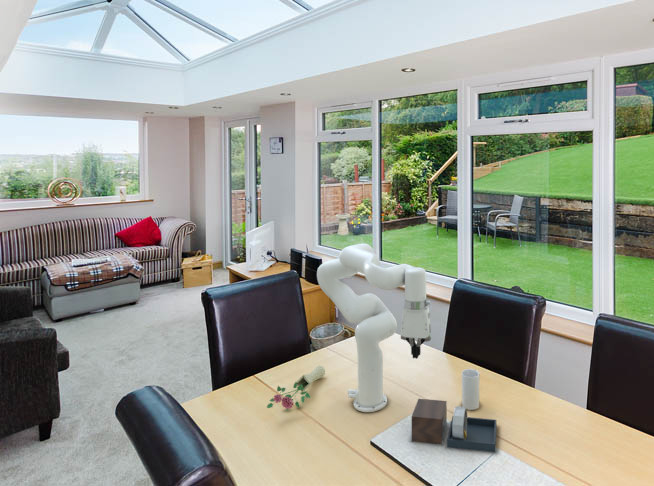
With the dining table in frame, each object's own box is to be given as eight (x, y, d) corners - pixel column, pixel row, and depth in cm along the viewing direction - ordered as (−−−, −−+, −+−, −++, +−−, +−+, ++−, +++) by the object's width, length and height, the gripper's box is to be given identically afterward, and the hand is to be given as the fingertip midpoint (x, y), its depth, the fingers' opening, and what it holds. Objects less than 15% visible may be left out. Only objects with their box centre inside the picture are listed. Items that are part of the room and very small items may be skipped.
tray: (447, 447, 136) (447, 439, 136) (452, 422, 149) (452, 415, 149) (495, 452, 133) (495, 444, 133) (496, 427, 146) (496, 419, 146)
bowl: (451, 424, 134) (462, 426, 134) (456, 399, 143) (466, 401, 142) (453, 446, 137) (464, 447, 136) (457, 420, 146) (467, 421, 145)
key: (465, 439, 137) (466, 439, 138) (465, 432, 138) (467, 432, 138) (457, 431, 142) (458, 431, 142) (458, 424, 142) (459, 424, 142)
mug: (477, 412, 155) (476, 378, 155) (459, 408, 157) (459, 375, 158) (483, 398, 164) (483, 366, 165) (467, 395, 167) (466, 364, 167)
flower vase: (325, 398, 179) (291, 428, 145) (299, 387, 181) (259, 415, 147) (335, 369, 182) (304, 392, 148) (309, 359, 183) (273, 379, 150)
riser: (411, 441, 139) (411, 416, 139) (418, 421, 149) (418, 398, 150) (441, 444, 137) (441, 419, 137) (446, 424, 148) (446, 400, 148)
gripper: (438, 301, 152) (438, 353, 151) (397, 299, 154) (397, 350, 154) (434, 308, 144) (435, 363, 144) (392, 306, 147) (392, 360, 146)
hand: (415, 356), depth 149 cm, fingers closed
